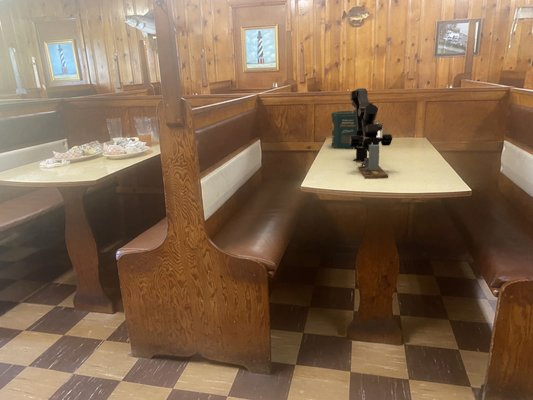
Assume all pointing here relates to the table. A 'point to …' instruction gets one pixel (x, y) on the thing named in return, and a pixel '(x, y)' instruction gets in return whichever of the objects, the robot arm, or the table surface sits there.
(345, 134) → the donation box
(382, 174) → the hole plate
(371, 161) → the block
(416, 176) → the table surface
